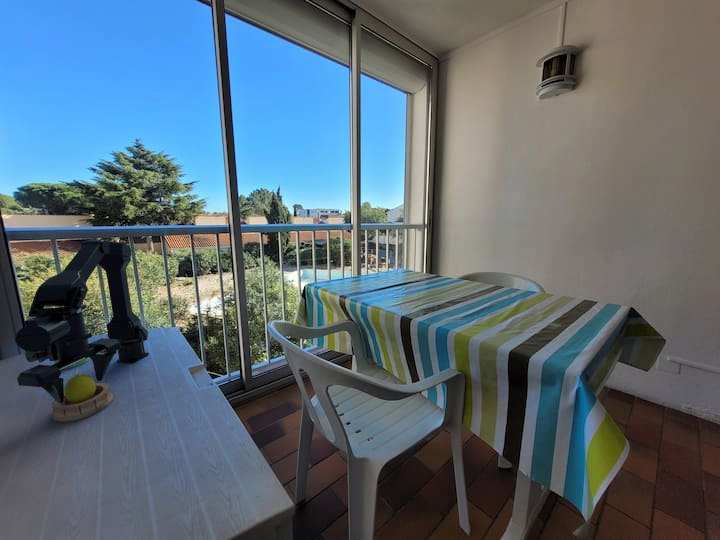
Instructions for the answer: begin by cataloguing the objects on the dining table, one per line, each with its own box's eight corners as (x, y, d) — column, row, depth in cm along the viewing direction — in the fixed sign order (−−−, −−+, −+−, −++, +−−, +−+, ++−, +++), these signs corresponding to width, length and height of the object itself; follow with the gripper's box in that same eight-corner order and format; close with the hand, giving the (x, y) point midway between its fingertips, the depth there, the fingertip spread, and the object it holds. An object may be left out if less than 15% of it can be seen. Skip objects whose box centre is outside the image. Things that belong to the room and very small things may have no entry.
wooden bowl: (88, 391, 79) (86, 380, 78) (124, 394, 77) (122, 383, 77) (38, 420, 68) (35, 407, 67) (80, 424, 66) (77, 411, 66)
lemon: (103, 399, 74) (96, 371, 72) (75, 412, 69) (67, 383, 67) (91, 393, 76) (85, 366, 74) (64, 406, 71) (56, 378, 69)
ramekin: (45, 371, 89) (42, 358, 88) (67, 357, 97) (64, 346, 97) (80, 368, 91) (77, 355, 90) (98, 355, 99) (96, 343, 99)
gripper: (81, 317, 79) (91, 369, 82) (-13, 348, 61) (4, 413, 64) (117, 319, 77) (126, 371, 80) (32, 351, 59) (48, 417, 62)
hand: (81, 390), depth 72 cm, fingers open, 9 cm apart
